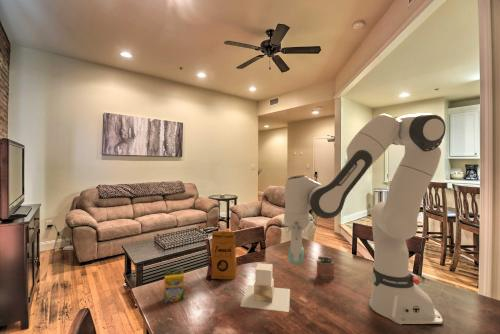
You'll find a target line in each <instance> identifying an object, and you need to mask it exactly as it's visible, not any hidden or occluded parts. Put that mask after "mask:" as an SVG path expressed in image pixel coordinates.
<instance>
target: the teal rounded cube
mask: <svg viewBox="0 0 500 334" xmlns="http://www.w3.org/2000/svg"><path fill="white" fill-rule="evenodd" d="M304 252H305V248H304V247H303V246H302V253H301V254H299V261H294V260H293V253H291V245H289V246H288V263H290V264H292V265H302V264H304V262H305V261H304V255H305V253H304Z"/></svg>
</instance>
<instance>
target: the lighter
mask: <svg viewBox="0 0 500 334" xmlns="http://www.w3.org/2000/svg"><path fill="white" fill-rule="evenodd" d="M334 270H335V262H334V261H333V260H332V256H328V255H324V256H321V255H319V256H318V260H316V278H317V279H320V280H334V279H335V271H334Z"/></svg>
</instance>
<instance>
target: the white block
mask: <svg viewBox="0 0 500 334" xmlns="http://www.w3.org/2000/svg"><path fill="white" fill-rule="evenodd" d="M273 268H274V267H273V264H272V263H260V262H258V263H257V265H256V267H255V281H256V285H262V286H271V284H272V279H274V277H273V275H274V274H273V270H274V269H273Z"/></svg>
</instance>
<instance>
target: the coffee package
mask: <svg viewBox="0 0 500 334" xmlns="http://www.w3.org/2000/svg"><path fill="white" fill-rule="evenodd" d="M211 235H212V239H211V253H210V254H211V268H212V269H211V277H210V278H211V280H223V281H224V280H235V278H236V277H237V275H238V261H237V256H236V255H237V252H236V250H237V249H236V247H237V246H236V236H235V231H230V230H229V231H225V230H213V231H212V233H211Z"/></svg>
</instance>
